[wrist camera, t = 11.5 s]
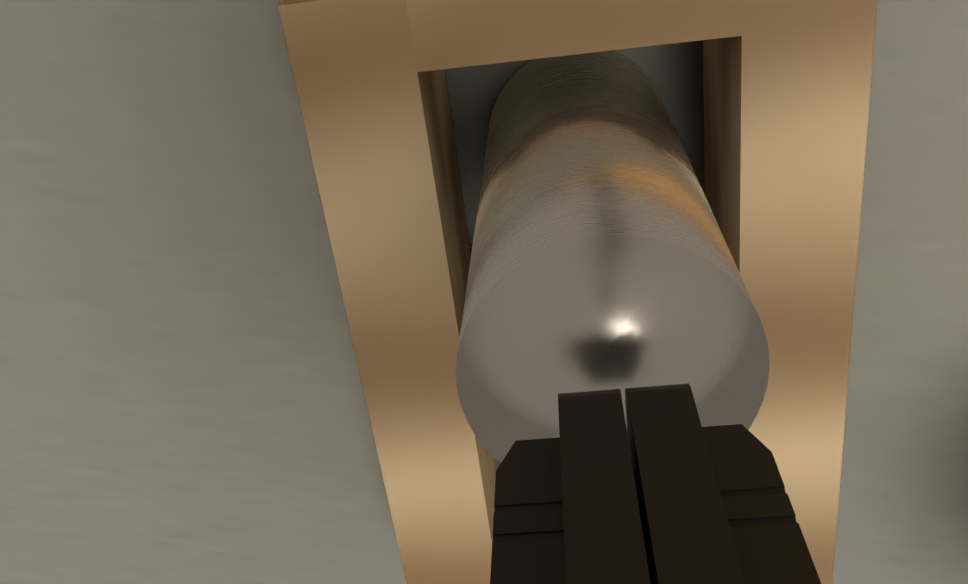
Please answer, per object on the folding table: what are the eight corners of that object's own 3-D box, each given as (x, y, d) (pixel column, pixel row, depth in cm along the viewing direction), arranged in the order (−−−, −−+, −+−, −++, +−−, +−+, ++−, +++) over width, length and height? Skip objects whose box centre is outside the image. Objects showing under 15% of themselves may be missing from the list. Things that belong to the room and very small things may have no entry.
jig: (324, -32, 19) (277, 5, 16) (813, -94, 18) (882, -69, 15) (431, 513, 26) (415, 624, 23) (788, 490, 25) (830, 603, 22)
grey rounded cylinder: (478, 55, 20) (435, 251, 11) (664, 35, 19) (774, 222, 11) (499, 223, 22) (476, 507, 13) (669, 208, 21) (766, 490, 12)
